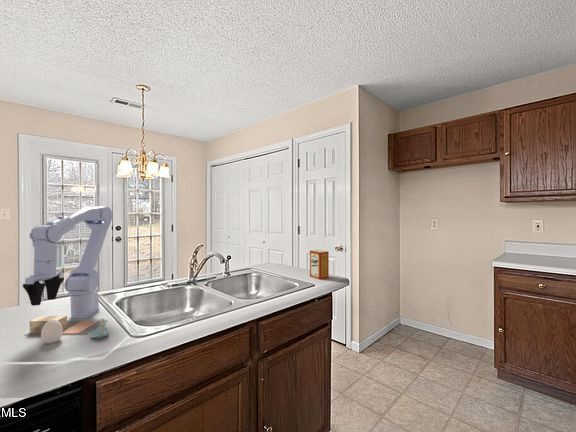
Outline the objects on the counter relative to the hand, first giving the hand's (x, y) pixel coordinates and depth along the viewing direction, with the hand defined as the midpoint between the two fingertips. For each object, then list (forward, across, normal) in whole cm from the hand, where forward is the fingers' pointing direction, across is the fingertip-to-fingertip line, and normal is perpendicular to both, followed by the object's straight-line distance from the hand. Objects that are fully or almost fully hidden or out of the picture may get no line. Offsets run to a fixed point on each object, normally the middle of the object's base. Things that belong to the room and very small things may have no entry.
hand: (44, 302), depth 96 cm
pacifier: (+11, +5, +19) cm, 23 cm away
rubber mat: (+10, -4, +6) cm, 12 cm away
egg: (+11, +7, +7) cm, 15 cm away
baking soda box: (+5, -62, +110) cm, 126 cm away
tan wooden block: (+10, -2, 0) cm, 10 cm away
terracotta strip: (+10, -3, +10) cm, 14 cm away
